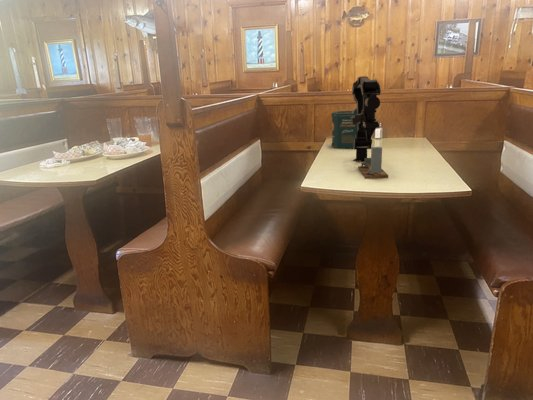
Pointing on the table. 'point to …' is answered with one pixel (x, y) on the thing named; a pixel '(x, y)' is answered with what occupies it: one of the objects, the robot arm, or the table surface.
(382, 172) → the hole plate
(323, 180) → the table surface
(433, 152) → the table surface
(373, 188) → the table surface
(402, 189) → the table surface
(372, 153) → the block
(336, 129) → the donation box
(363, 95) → the robot arm
